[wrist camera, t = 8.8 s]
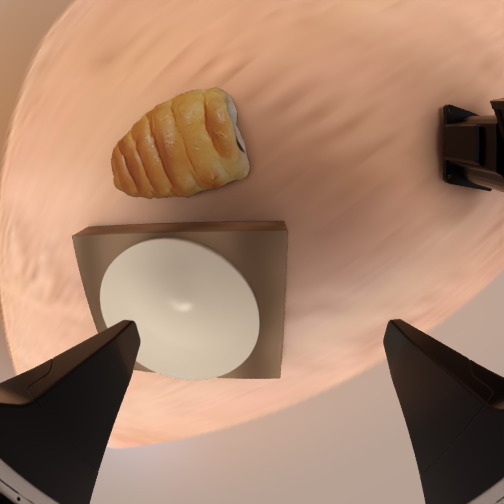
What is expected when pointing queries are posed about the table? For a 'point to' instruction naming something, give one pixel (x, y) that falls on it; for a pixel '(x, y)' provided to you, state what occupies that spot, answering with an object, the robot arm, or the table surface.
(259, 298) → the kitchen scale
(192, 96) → the pastry
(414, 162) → the table surface
